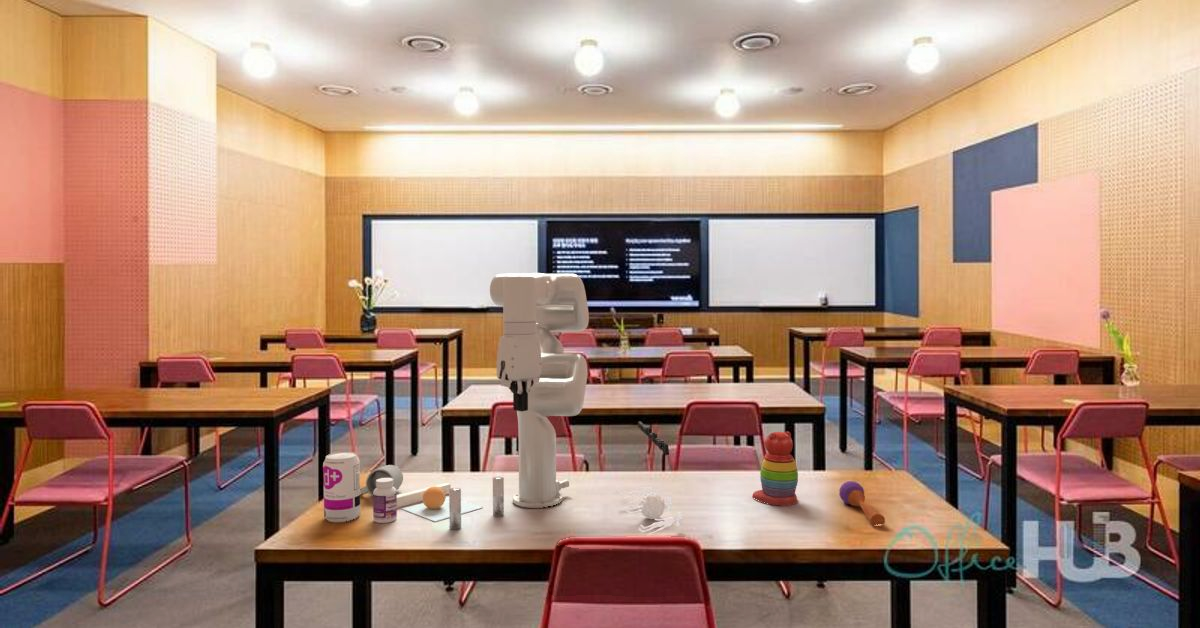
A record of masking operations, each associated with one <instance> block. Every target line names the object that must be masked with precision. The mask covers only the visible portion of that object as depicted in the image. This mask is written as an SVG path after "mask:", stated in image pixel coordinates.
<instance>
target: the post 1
mask: <svg viewBox="0 0 1200 628" xmlns="http://www.w3.org/2000/svg"><path fill="white" fill-rule="evenodd" d="M448 496H449V516H450V518H449V530H451V531H458V530H461V529H462V514H461V500H462V488H461V487H451V489H449V494H448Z"/></svg>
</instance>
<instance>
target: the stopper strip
mask: <svg viewBox="0 0 1200 628" xmlns="http://www.w3.org/2000/svg"><path fill="white" fill-rule="evenodd" d="M434 486H436V487H439V488H441V489H442V490H443V491H444V493H445V496H446V495H449V489H451V488H452V487H451V483H447V482H444V483H439V484H436V485H432V486H427V487H424V488H420V489H416V490H413V491H408V492H405V493H400V494H397V509H398V508H403V507H405V506H408V505H409V506H410V505H413V504H417V503H421V502H423V494H424V492H425V491H426V490H427V489H428V488H430V487H434Z"/></svg>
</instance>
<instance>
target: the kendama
mask: <svg viewBox="0 0 1200 628" xmlns="http://www.w3.org/2000/svg"><path fill="white" fill-rule="evenodd" d="M839 497H840V499H841V501H843V502H844V504H846V505H848V504H851V505H850V506H853V507H861V510H862V511H863V513H864V514H865V516H866V518H867V520H868V521H869V523H870V524H872V525H876V524H877V525H878V524H884V525H885V521H886V519H885V516H884V515H883V514H882V513H880V512H878V511H877V510H876V509H875V508H873V507H871V506H870V505H868V504H867V503H865V499H866V494H865V489H864V487H863V486H862V485H861V484H860V483H859V482H857V481H853V480H849V481H845V482H844V483H842V484H841V486H840V488H839ZM872 525H871V526H872Z"/></svg>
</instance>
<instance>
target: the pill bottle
mask: <svg viewBox="0 0 1200 628" xmlns="http://www.w3.org/2000/svg"><path fill="white" fill-rule="evenodd" d="M393 484H394V480H393V479H392V478H380V479H377V480H376V487H377V488H376V489H375V490H374V491H373V496H372V504H373V505H372V508H373V509H372V512H373V515H372V519H373V522H375V523H379V524H389V523H391V522H394V521H396V520H397V517H398V512H397V511H398V510H397V509H398V508H397V495H398V494H397V490H396V488H395V487H393Z"/></svg>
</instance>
